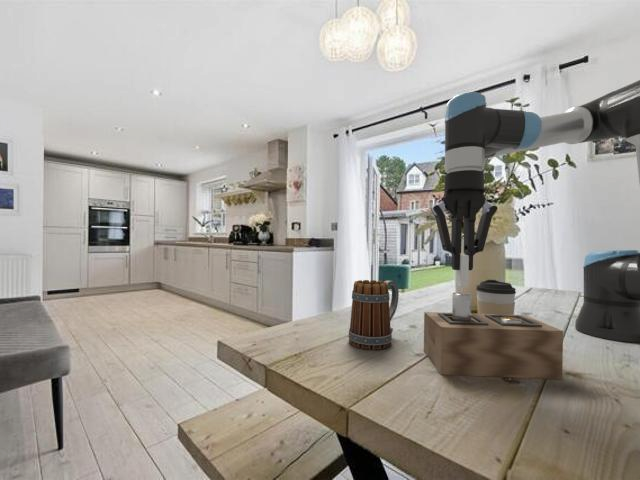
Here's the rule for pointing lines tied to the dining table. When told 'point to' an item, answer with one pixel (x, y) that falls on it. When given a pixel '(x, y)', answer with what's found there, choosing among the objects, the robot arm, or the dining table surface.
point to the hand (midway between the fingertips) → (461, 285)
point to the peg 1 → (461, 307)
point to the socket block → (493, 346)
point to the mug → (372, 314)
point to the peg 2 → (511, 320)
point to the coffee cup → (495, 297)
